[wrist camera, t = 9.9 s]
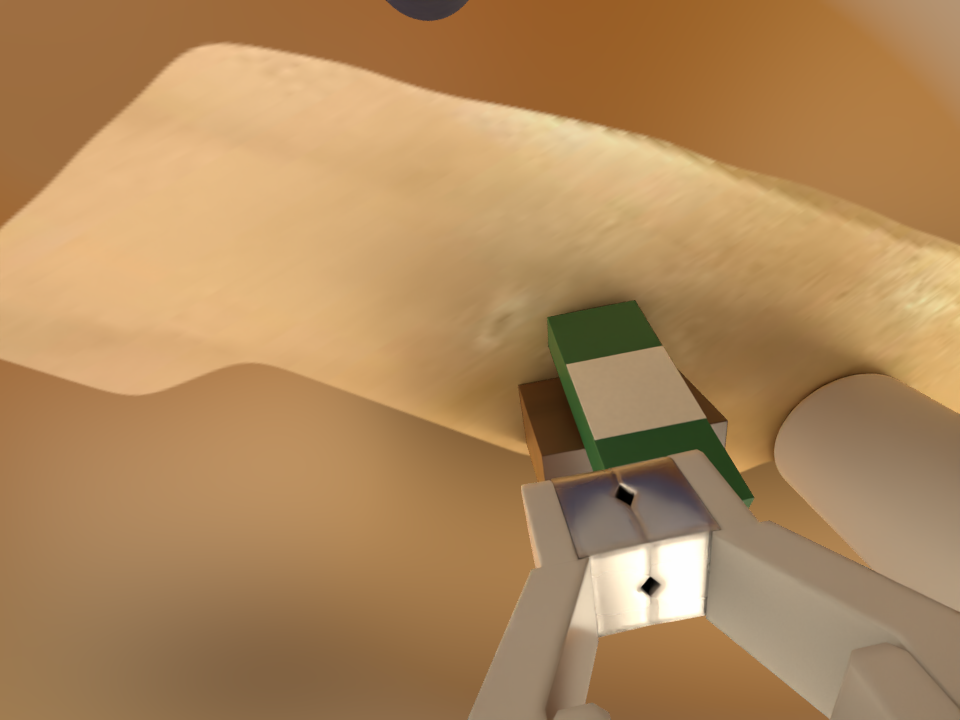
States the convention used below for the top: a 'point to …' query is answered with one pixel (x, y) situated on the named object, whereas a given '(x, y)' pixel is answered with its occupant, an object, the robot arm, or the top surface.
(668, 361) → the block
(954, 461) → the cylinder vase
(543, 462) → the block
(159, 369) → the top surface
